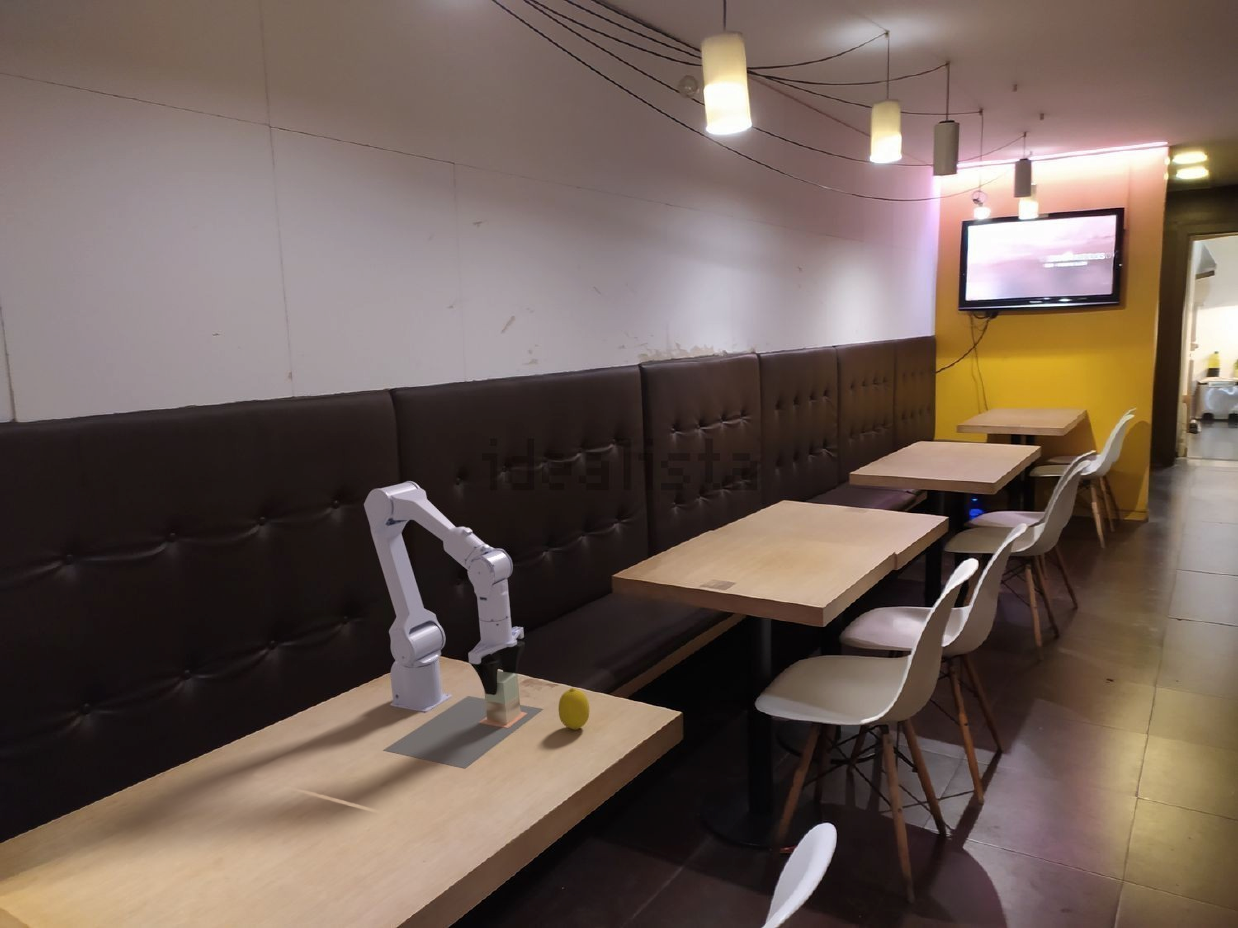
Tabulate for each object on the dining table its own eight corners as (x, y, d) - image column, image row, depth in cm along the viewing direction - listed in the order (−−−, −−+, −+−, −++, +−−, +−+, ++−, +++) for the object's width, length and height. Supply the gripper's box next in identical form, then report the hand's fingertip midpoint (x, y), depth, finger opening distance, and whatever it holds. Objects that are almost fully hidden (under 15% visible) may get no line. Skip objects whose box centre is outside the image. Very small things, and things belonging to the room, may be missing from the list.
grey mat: (383, 752, 146) (383, 749, 146) (468, 697, 167) (467, 695, 167) (465, 770, 138) (465, 767, 138) (543, 710, 159) (543, 708, 159)
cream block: (487, 720, 155) (485, 700, 155) (501, 710, 159) (499, 690, 158) (507, 724, 153) (505, 703, 152) (520, 714, 157) (519, 694, 156)
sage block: (485, 700, 155) (483, 679, 154) (499, 690, 159) (497, 670, 158) (505, 703, 152) (503, 682, 152) (519, 694, 156) (517, 673, 156)
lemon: (555, 728, 151) (552, 686, 150) (583, 720, 154) (580, 679, 153) (566, 740, 146) (563, 697, 145) (595, 732, 149) (592, 689, 148)
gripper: (488, 631, 145) (495, 705, 147) (534, 606, 158) (540, 675, 160) (456, 627, 148) (463, 700, 150) (504, 603, 161) (509, 670, 163)
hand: (500, 686), depth 155 cm, fingers open, 6 cm apart
